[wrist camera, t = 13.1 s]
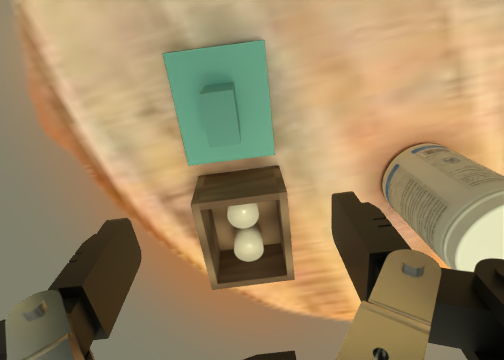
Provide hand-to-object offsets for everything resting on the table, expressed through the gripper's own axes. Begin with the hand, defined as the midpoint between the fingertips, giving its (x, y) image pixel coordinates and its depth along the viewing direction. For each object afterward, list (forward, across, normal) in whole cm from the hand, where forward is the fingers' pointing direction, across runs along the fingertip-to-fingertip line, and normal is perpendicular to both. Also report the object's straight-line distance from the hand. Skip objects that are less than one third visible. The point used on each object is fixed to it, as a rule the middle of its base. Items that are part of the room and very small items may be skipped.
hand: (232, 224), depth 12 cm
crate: (+24, +1, +14) cm, 28 cm away
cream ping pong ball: (+23, +1, +12) cm, 26 cm away
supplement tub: (+24, -22, +12) cm, 35 cm away
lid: (+24, +2, 0) cm, 24 cm away
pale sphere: (+23, +1, +17) cm, 29 cm away
